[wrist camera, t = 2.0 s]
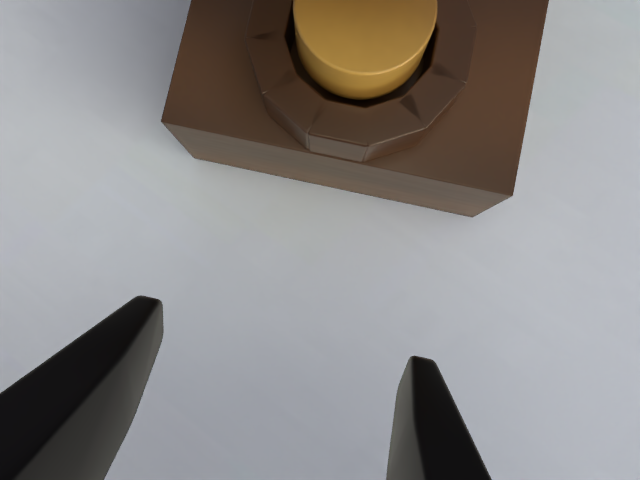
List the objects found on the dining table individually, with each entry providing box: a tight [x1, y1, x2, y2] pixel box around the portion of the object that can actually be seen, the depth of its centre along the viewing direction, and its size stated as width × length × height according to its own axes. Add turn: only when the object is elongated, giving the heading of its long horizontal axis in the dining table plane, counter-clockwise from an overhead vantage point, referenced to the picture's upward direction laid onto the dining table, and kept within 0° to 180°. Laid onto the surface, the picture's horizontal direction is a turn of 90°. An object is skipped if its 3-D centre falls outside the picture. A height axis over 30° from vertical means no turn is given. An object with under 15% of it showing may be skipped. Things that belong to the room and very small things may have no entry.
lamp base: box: [161, 0, 549, 217], centre depth 21 cm, size 13×12×7 cm
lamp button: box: [293, 0, 437, 100], centre depth 17 cm, size 4×4×2 cm
